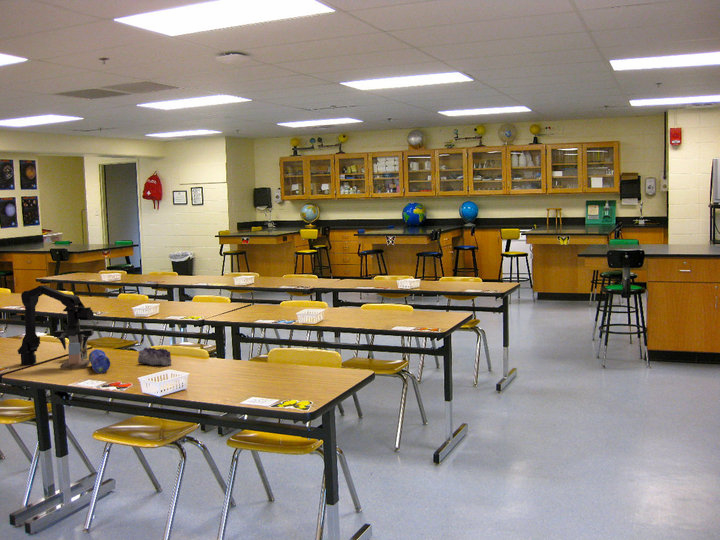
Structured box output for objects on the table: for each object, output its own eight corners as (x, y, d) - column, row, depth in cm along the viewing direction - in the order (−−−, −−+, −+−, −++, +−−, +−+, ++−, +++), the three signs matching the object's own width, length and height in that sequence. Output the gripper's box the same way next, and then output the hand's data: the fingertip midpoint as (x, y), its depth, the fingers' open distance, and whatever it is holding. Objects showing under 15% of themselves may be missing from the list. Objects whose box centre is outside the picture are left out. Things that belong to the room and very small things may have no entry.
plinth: (60, 369, 352) (60, 365, 351) (65, 364, 363) (65, 360, 363) (85, 368, 354) (84, 364, 354) (89, 363, 366) (89, 359, 365)
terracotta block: (68, 363, 355) (68, 354, 355) (70, 361, 360) (70, 352, 360) (79, 363, 356) (78, 353, 356) (81, 361, 361) (80, 352, 361)
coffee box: (80, 361, 371) (79, 331, 370) (69, 361, 371) (67, 331, 370) (88, 357, 380) (86, 328, 379) (76, 357, 380) (75, 328, 379)
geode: (179, 363, 365) (177, 345, 362) (164, 370, 354) (163, 352, 352) (149, 358, 373) (147, 341, 371) (134, 365, 363) (132, 348, 361)
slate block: (68, 354, 354) (68, 345, 354) (69, 352, 359) (69, 343, 358) (79, 354, 355) (78, 344, 355) (80, 352, 360) (79, 342, 360)
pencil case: (111, 373, 344) (110, 354, 343) (92, 375, 340) (92, 356, 339) (105, 364, 363) (105, 346, 362) (88, 366, 359) (87, 348, 359)
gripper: (50, 323, 347) (51, 353, 348) (89, 321, 350) (90, 351, 352) (55, 319, 358) (57, 349, 359) (93, 318, 361) (94, 347, 363)
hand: (74, 349), depth 358 cm, fingers open, 9 cm apart
